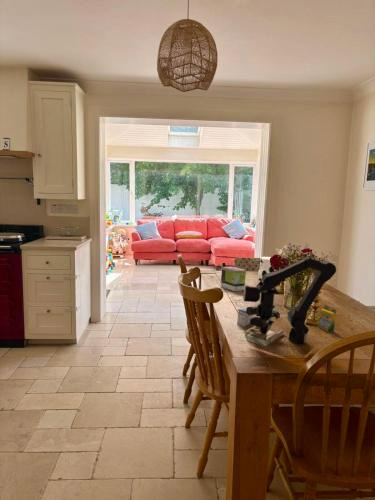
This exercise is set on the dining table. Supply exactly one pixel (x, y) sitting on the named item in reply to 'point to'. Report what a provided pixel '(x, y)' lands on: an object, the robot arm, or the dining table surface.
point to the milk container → (264, 267)
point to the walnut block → (260, 335)
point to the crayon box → (327, 318)
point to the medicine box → (243, 317)
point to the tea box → (233, 278)
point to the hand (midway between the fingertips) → (263, 336)
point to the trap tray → (270, 338)
